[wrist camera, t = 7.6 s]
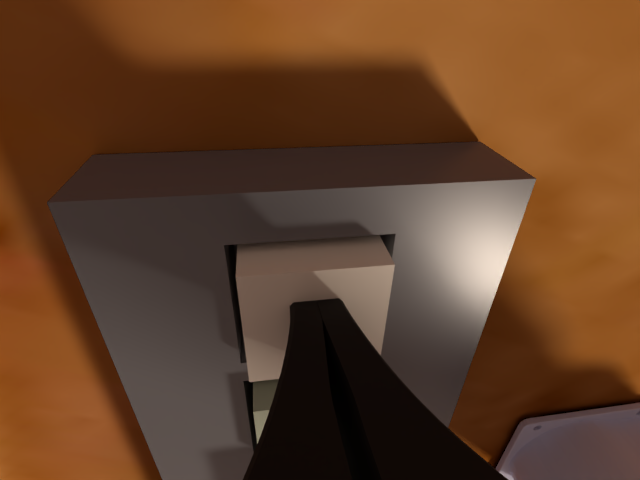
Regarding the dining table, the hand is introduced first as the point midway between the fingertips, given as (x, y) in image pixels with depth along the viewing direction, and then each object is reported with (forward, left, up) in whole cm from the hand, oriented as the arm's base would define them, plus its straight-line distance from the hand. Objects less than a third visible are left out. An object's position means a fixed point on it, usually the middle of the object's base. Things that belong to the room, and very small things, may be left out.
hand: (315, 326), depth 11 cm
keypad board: (0, +8, -4) cm, 9 cm away
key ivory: (0, 0, -3) cm, 3 cm away
